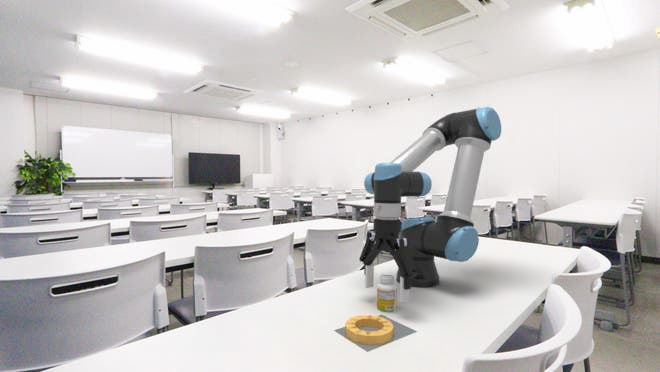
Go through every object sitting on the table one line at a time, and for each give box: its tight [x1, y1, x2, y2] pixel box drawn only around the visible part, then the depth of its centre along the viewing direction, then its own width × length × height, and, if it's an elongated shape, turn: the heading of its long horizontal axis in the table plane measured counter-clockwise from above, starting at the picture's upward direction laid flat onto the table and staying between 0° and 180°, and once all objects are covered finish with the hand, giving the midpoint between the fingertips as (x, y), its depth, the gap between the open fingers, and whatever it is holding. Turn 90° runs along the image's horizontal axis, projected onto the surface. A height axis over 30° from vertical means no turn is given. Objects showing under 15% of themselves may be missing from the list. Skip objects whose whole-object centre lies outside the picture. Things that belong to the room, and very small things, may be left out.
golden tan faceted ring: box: [344, 314, 394, 345], centre depth 77 cm, size 11×11×2 cm
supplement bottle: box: [376, 274, 398, 314], centre depth 91 cm, size 5×5×10 cm
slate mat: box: [334, 314, 418, 353], centre depth 78 cm, size 12×16×1 cm
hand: (385, 293), depth 91 cm, fingers open, 13 cm apart
